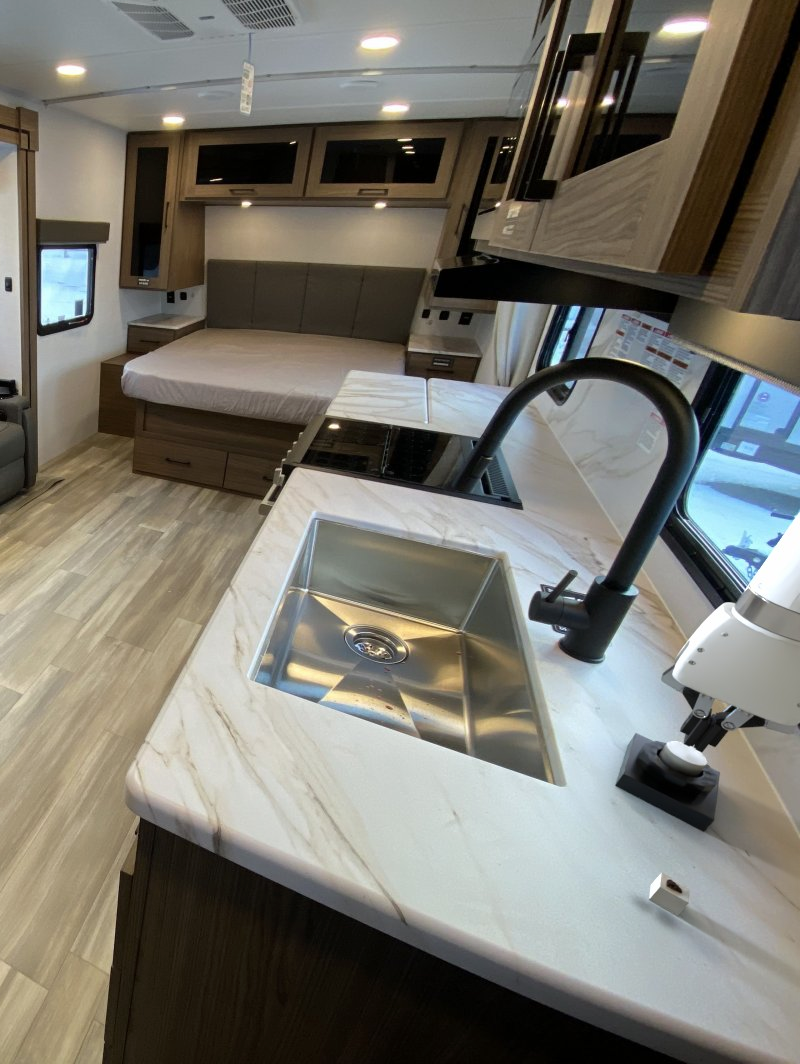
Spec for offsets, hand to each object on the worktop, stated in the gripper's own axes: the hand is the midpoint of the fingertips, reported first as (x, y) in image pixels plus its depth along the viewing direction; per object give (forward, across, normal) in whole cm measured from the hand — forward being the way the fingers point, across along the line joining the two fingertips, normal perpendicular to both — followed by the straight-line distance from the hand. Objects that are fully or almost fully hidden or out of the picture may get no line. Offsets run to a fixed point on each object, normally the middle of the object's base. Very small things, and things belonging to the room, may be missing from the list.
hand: (693, 742), depth 67 cm
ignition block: (+7, 0, 0) cm, 7 cm away
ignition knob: (+4, 0, 0) cm, 4 cm away
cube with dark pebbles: (+8, -2, +19) cm, 20 cm away
